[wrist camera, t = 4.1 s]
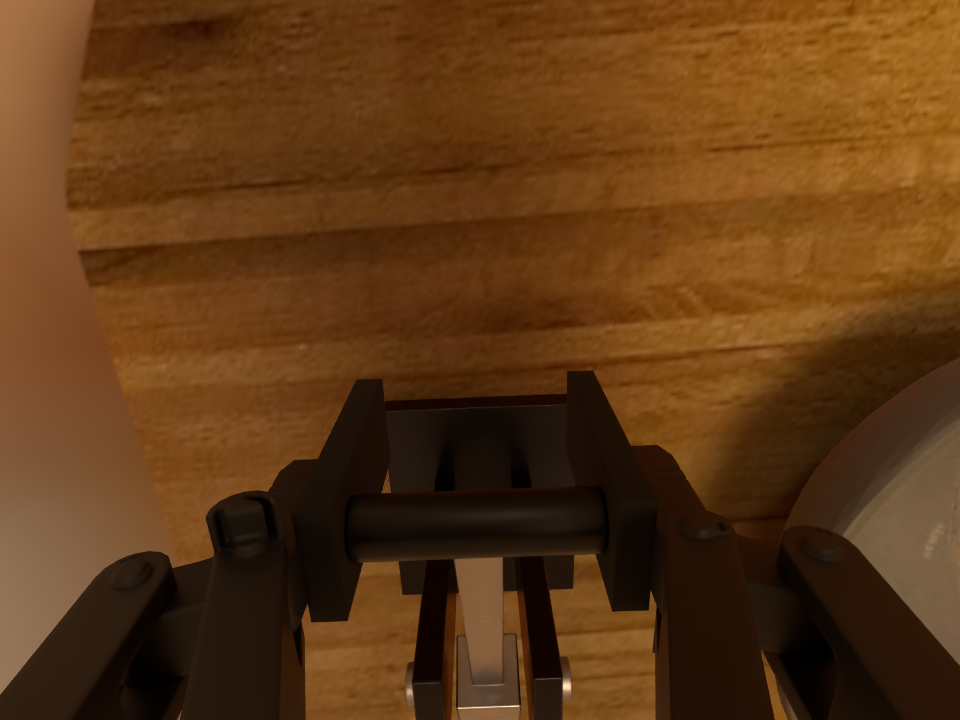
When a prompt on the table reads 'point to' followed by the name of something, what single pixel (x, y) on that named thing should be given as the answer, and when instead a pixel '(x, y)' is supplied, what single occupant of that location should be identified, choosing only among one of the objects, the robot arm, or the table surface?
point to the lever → (479, 564)
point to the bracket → (503, 465)
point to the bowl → (900, 499)
